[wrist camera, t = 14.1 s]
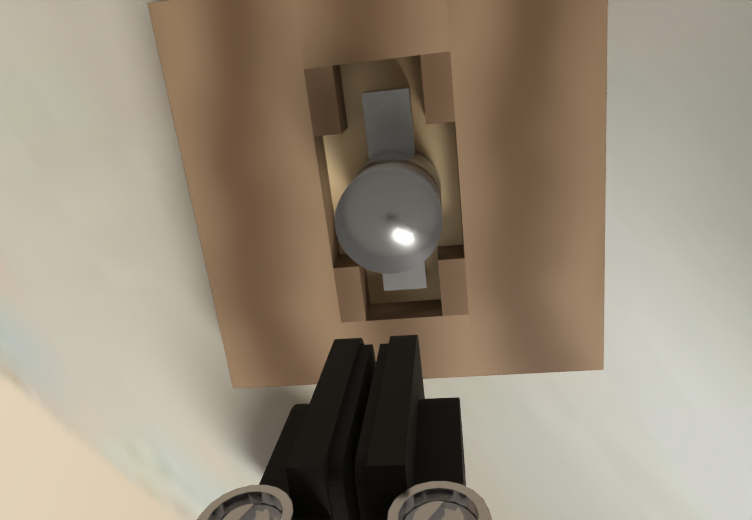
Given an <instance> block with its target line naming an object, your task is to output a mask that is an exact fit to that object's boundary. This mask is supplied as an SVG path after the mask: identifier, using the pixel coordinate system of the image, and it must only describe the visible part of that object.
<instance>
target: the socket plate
mask: <svg viewBox="0 0 752 520" xmlns="http://www.w3.org/2000/svg"><path fill="white" fill-rule="evenodd" d="M607 6H608V0H167V1H160V2H153V3H148V8H149V12H150V17H151V21H152V25H153V30H154V34H155V39H156V43H157V48H158V52H159V57H160V61H161V66H162V70H163V75H164V79H165V84H166V88H167V93H168V97H169V102H170V106H171V111H172V115H173V120H174V124H175V129H176V133H177V138H178V142H179V147H180V151H181V156H182V160H183V165H184V169H185V174H186V178H187V183H188V187H189V192H190V196H191V201H192V205H193V210H194V214H195V219H196V223H197V228H198V232H199V237H200V241H201V246H202V250H203V255H204V259H205V264H206V268H207V273H208V277H209V282H210V286H211V291H212V295H213V299H214V304H215V308H216V313H217V317H218V322H219V326H220V331H221V335H222V340H223V344H224V349H225V353H226V358H227V362H228V367H229V371H230V376H231V380H232V385H233V388H251V387H271V386H291V385H310V384H317V383H318V381H319V378H320V375H321V373H322V370H323V367H324V365H325V362H326V360H327V357H328V354H329V352H330V349H331V347H332V344H333V341H334V340H335V339H347V338H362V339H363V342H364V345H367V344H373V347H374V352H375V360H377V355H378V351H379V346H380V344H386V343H389V339H390V336H401V335H418V339H419V347H420V357H421V367H422V377H423V379H428V378H448V377H468V376H487V375H507V374H527V373H546V372H566V371H586V370H603V358H604V270H605V182H606V94H607ZM409 86H410V90H411V101H412V112H413V123H414V135H415V146H416V150H418V151H420V152H422V153H423V154H424V155H426V156H427V157H428V158H429V159H430V160H431V162H432V163H433V164H434V166H435V167H436V169H437V172H438V174H439V178H440V183H441V206H442V230H441V235H440V239H439V241H438V244H437V246H436V248H435V249H434V251H433V252H432V254H431V255H430V256H429V257H428V258H427V259H426V268H427V288H420V289H406V290H391V291H384V284H383V276H382V273H378V272H373V271H371V270H368V269H366V268H364V267H362V266H360V265H359V264H357V263H356V262H354V261H353V260H352V259H351V258H350V257H349V256H348V255H347V254H346V252H345V251H344V249H343V248H342V246H341V244H340V242H339V240H338V237H337V235H336V230H335V212H336V207H337V204H338V201H339V199H340V197H341V196H342V194H343V192H344V191H345V189H346V188H347V186H348V185H349V183H350V182H351V180H352V179H353V177H354V176H355V174H356V173H357V171H358V170H359V168H360V167H361V165H362V164H363V163H364V161H365V160H366V159H367V158H368V157H369V155H368V146H367V138H366V129H365V121H364V112H363V103H362V95H361V93H363V92H365V91H373V90H382V89H391V88H400V87H409Z"/></svg>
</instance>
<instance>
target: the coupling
mask: <svg viewBox="0 0 752 520" xmlns="http://www.w3.org/2000/svg"><path fill="white" fill-rule="evenodd" d="M361 95H362V103H363V112H364V121H365V129H366V138H367V146H368V155H369V157H368V158H367V159H366V160H365V161H364V163H363V164H362V165H361V167H360V168H359V170H358V171H357V173H356V174H355V176H354V177H353V179H352V180H351V182H350V183H349V185H348V186H347V188H346V189H345V191H344V192H343V194H342V196H341V197H340V199H339V201H338V204H337V207H336V212H335V230H336V235H337V237H338V240H339V242H340V244H341V246H342V248H343V249H344V251H345V252H346V254H347V255H348V256H349V257H350V258H351V259H352V260H353V261H354V262H356V263H357V264H359V265H360V266H362V267H364V268H366V269H368V270H371V271H373V272H378V273H382V276H383V284H384V291H391V290H406V289H420V288H427V268H426V259H427V258H428V257H429V256H430V255H431V254H432V252H433V251H434V249H435V248H436V246H437V244H438V241H439V239H440V235H441V230H442V206H441V183H440V178H439V174H438V172H437V169H436V167H435V166H434V164H433V163H432V162H431V160H430V159H429V158H428V157H427V156H426V155H424V154H423V153H422V152H420V151H418V150H416V146H415V135H414V123H413V112H412V101H411V90H410V86H409V87H400V88H391V89H382V90H373V91H365V92H363V93H361Z"/></svg>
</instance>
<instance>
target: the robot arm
mask: <svg viewBox="0 0 752 520" xmlns="http://www.w3.org/2000/svg"><path fill="white" fill-rule="evenodd" d="M197 520H492V517H491V514H490V511H489V509H488V507H487V505H486V503H485V501H484V499H483V498H482V497H481V496H479V495H478V494H477V493H476V492H475V491H474V490H472V489H470V488H468V487H466V479H465V463H464V449H463V435H462V422H461V410H460V399H459V398H435V399H425V397H424V387H423V377H422V367H421V357H420V347H419V339H418V335H401V336H390V339H389V343H386V344H380V346H379V351H378V355H377V360H375V352H374V347H373V344H367V345H364V342H363V339H362V338H347V339H335V340H334V341H333V344H332V347H331V349H330V352H329V354H328V357H327V360H326V362H325V365H324V367H323V370H322V373H321V375H320V378H319V381H318V383H317V386H316V388H315V391H314V394H313V396H312V399H311V401H310V404H296V405H294V406H293V408H292V409H291V411H290V414H289V416H288V418H287V421H286V423H285V425H284V428H283V430H282V432H281V435H280V437H279V439H278V442H277V444H276V446H275V449H274V451H273V453H272V456H271V458H270V460H269V463H268V465H267V467H266V470H265V472H264V474H263V477H262V479H261V481H260V484H259V485H250V486H246V487H241V488H237V489H235V490H233V491H230V492H228V493H226V494H224V495H222V496H221V497H219V498H218V499H216V500H215V501H213V502H212V503H211V504H210V505H209V506H208V507H207V508H206V509H205V510H204V511H203V512H202V513H201V515H200V516H199V517H198V519H197Z"/></svg>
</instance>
